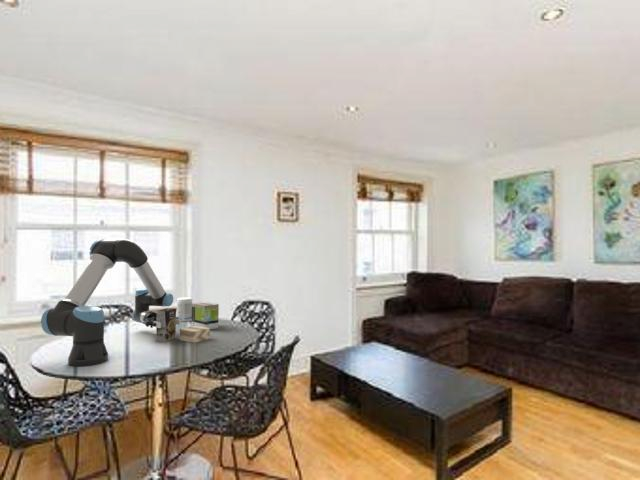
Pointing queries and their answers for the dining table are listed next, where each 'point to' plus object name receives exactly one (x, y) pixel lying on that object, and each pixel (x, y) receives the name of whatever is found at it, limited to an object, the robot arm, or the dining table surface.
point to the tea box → (205, 314)
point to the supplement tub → (184, 309)
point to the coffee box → (166, 325)
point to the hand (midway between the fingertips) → (170, 323)
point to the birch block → (194, 333)
